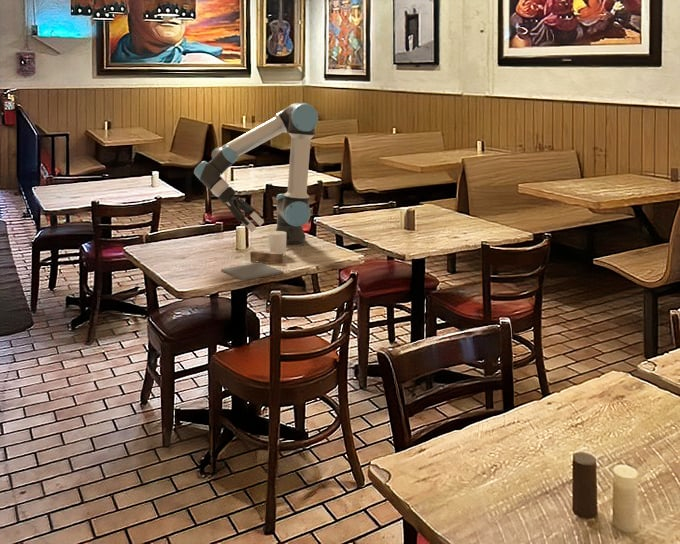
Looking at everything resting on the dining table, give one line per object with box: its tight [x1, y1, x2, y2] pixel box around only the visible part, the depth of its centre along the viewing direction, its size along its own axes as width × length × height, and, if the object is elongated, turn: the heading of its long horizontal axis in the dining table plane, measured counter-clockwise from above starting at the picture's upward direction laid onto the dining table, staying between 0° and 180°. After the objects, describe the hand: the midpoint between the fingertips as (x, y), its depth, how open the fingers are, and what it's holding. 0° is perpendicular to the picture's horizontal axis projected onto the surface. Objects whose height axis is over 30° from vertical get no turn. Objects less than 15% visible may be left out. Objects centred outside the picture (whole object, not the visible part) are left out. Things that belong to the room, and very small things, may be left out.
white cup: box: [267, 230, 287, 257], centre depth 329 cm, size 8×8×10 cm
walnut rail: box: [249, 250, 284, 265], centre depth 318 cm, size 14×2×4 cm, turn 73°
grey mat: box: [221, 262, 284, 281], centre depth 302 cm, size 18×18×1 cm
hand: (258, 226), depth 328 cm, fingers open, 13 cm apart
